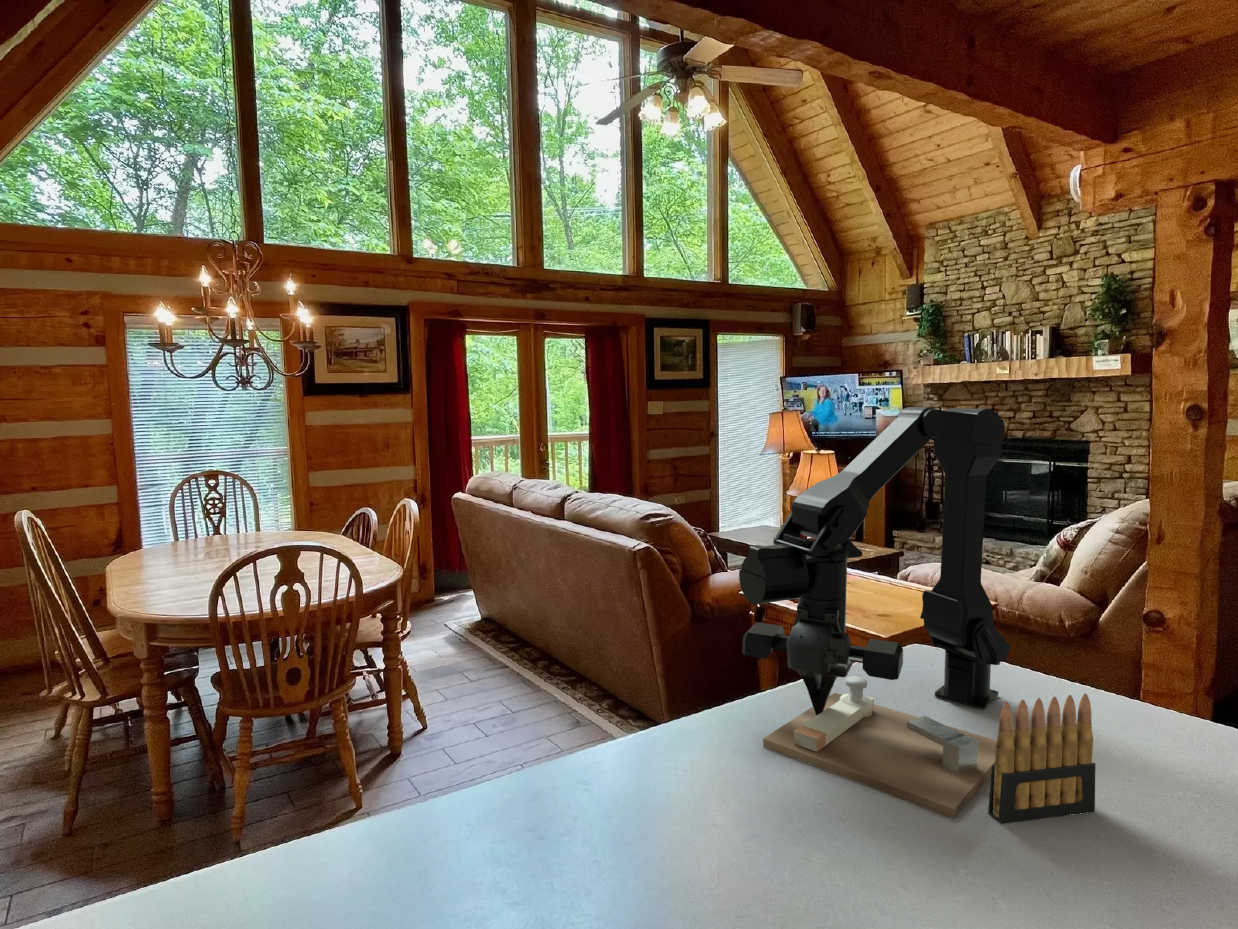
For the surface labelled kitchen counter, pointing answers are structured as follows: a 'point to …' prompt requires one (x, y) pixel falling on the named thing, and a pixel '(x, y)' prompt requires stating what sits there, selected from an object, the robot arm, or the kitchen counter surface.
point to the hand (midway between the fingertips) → (819, 715)
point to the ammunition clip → (1043, 763)
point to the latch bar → (836, 717)
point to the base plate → (891, 759)
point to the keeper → (948, 744)
